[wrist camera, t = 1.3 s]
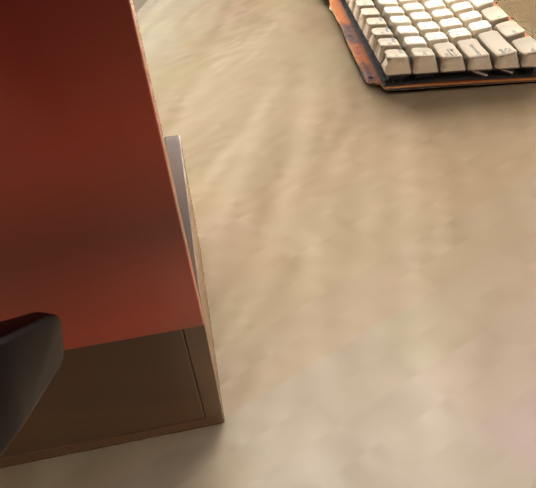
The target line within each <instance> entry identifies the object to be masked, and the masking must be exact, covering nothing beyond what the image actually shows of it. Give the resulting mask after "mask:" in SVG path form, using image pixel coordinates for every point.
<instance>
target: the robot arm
mask: <svg viewBox="0 0 536 488" xmlns="http://www.w3.org/2000/svg"><path fill="white" fill-rule="evenodd" d="M63 358H64V345H63V335H62V325H61V320H60V318H59V317H58V316H57V315H56V314H51V313H44V312H33V313H30V314H26V315H23V316H19V317H15V318H12V319H8V320H5V321H1V322H0V456H1V455H2V454H3V453H4V451H5V450H6V449H7V447H8V446H9V445H10V444H11V442H12V441H13V439H14V438H15V437H16V435H17V434H18V433H19V431H20V430H21V428H22V427H23V425H24V424H25V422H26V421H27V419H28V417H29V416H30V414H31V413H32V411H33V409H34V408H35V406H36V405H37V403H38V401H39V400H40V398H41V397H42V395H43V393H44V392H45V390H46V389H47V387H48V385H49V384H50V382H51V381H52V379H53V377H54V376H55V374H56V373H57V371H58V369H59V368H60V366H61V364H62V362H63Z"/></svg>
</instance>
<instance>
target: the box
mask: <svg viewBox="0 0 536 488" xmlns="http://www.w3.org/2000/svg"><path fill="white" fill-rule="evenodd" d="M164 141H165V146H166V150H167V155H168V159H169V164H170V168H171V172H172V177H173V181H174V186H175V190H176V195H177V199H178V204H179V208H180V213H181V217H182V222H183V226H184V230H185V235H186V239H187V244H188V248H189V253H190V257H191V262H192V266H193V271H194V275H195V280H196V284H197V289H198V293H199V297H200V302H201V306H202V313H203V321H204V325H203V326H197V327H192V328H186V329H181V330H175V331H169V332H164V333H158V334H153V335H147V336H141V337H136V338H130V339H125V340H119V341H113V342H108V343H102V344H97V345H91V346H85V347H80V348H74V349H69V350H64V358H63V362H62V364H61V366H60V368H59V369H58V371H57V373H56V374H55V376H54V377H53V379H52V381H51V382H50V384H49V385H48V387H47V389H46V390H45V392H44V393H43V395H42V397H41V398H40V400H39V401H38V403H37V405H36V406H35V408H34V409H33V411H32V413H31V414H30V416H29V417H28V419H27V421H26V422H25V424H24V425H23V427H22V428H21V430H20V431H19V433H18V434H17V435H16V437H15V438H14V439H13V441H12V442H11V444H10V445H9V446H8V447H7V449H6V450H5V451H4V453H3V454H2V455H1V456H0V468H1V467H6V466H11V465H16V464H21V463H26V462H31V461H36V460H41V459H45V458H50V457H55V456H60V455H65V454H70V453H75V452H80V451H85V450H90V449H95V448H100V447H105V446H110V445H115V444H120V443H125V442H130V441H135V440H140V439H145V438H150V437H155V436H160V435H165V434H170V433H174V432H179V431H184V430H189V429H194V428H199V427H204V426H209V425H214V424H219V423H224V414H223V407H222V400H221V393H220V386H219V379H218V372H217V365H216V358H215V351H214V344H213V337H212V330H211V322H210V315H209V308H208V301H207V294H206V287H205V280H204V273H203V266H202V259H201V252H200V245H199V238H198V233H197V227H196V222H195V216H194V211H193V205H192V200H191V194H190V189H189V183H188V178H187V172H186V167H185V161H184V156H183V150H182V145H181V139H180V135H175V136H168V137H165V138H164Z"/></svg>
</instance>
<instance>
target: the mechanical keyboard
mask: <svg viewBox="0 0 536 488" xmlns="http://www.w3.org/2000/svg"><path fill="white" fill-rule="evenodd" d="M329 2H330V7H329V9H330V10H331V11H332V12H333V13H334V15H335V17H336V19H337V21H338V23H339V24H340V26H341V28H342V30H343V34H344V37H345V39H346V40H347V44H348V48H349V50H350V51H351V52H352V54H353V56H354V59H355V62H356V64H357V65H358V68H359V69H360V72H361V75H362V77H363V78H364V80H365V82H366V83H368V84H370V85H381V86H382V88H383V89H384V90H386V91H396V90H412V89H424V88H440V87H454V86H469V85H485V84H501V83H518V82H532V81H533V82H535V81H536V41H535V39H534V38H533V37H530V36H529V35H528V34H527V33H526V31H525V30H524V29H522V28H521V27H520V26H519V25H518V24H517V23H516V22H515V21H514V20H512V18H510V17H509V15H508V14H506V13H505V12H504V11H503V10H502V9H501V8H500V7H499V6H498V5H497V4H496V3H495V2H494V0H329Z"/></svg>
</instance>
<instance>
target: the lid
mask: <svg viewBox="0 0 536 488" xmlns="http://www.w3.org/2000/svg"><path fill="white" fill-rule="evenodd" d="M33 312H44V313H51V314H56V315H57V316H58V317H59V318H60V320H61V325H62V335H63V345H64V350H69V349H74V348H80V347H85V346H91V345H97V344H102V343H108V342H113V341H119V340H125V339H130V338H136V337H141V336H147V335H153V334H158V333H164V332H169V331H175V330H181V329H186V328H192V327H197V326H203V325H204V321H203V313H202V306H201V302H200V297H199V293H198V289H197V284H196V280H195V275H194V271H193V266H192V262H191V257H190V253H189V248H188V244H187V239H186V235H185V230H184V226H183V222H182V217H181V213H180V208H179V204H178V199H177V195H176V190H175V186H174V181H173V177H172V172H171V168H170V164H169V159H168V155H167V150H166V146H165V141H164V137H163V132H162V128H161V123H160V119H159V114H158V110H157V105H156V101H155V97H154V92H153V88H152V83H151V79H150V74H149V70H148V65H147V61H146V56H145V52H144V47H143V43H142V39H141V34H140V30H139V25H138V21H137V16H136V12H135V7H134V3H133V0H0V322H1V321H5V320H8V319H12V318H15V317H19V316H23V315H26V314H30V313H33Z"/></svg>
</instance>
